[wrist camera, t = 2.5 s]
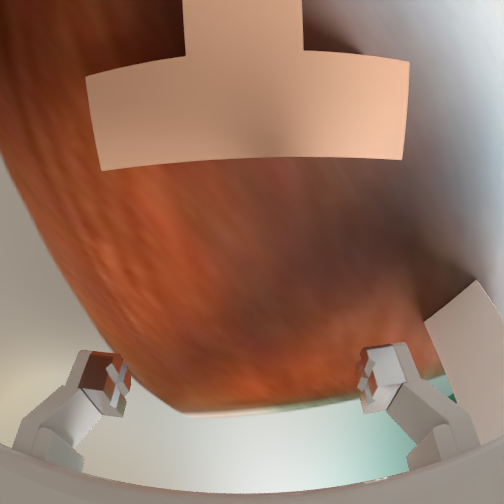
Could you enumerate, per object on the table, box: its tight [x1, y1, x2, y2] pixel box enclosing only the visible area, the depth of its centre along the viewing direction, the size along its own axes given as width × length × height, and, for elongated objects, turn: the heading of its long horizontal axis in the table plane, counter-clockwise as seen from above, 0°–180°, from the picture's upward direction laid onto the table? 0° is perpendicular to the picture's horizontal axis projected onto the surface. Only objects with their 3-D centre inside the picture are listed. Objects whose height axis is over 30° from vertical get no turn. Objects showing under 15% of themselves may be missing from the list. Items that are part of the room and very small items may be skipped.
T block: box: [85, 0, 409, 171], centre depth 10 cm, size 12×12×5 cm
